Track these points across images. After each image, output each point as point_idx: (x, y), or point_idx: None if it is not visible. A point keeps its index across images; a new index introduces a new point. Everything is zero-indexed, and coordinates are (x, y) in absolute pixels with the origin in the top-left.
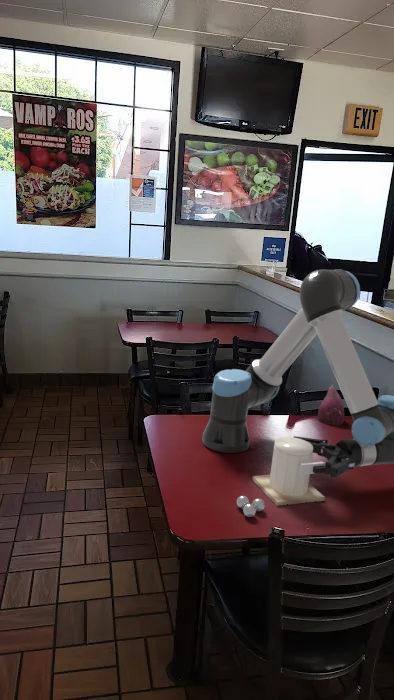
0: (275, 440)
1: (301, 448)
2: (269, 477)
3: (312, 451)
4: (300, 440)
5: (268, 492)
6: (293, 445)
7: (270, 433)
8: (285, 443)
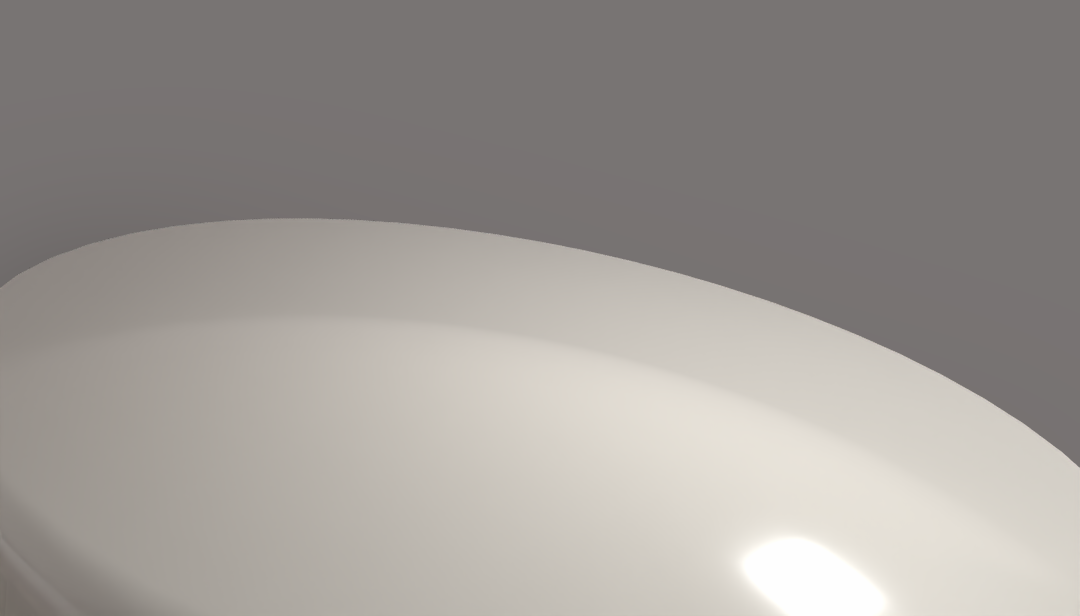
0: (782, 308)
1: (277, 349)
2: None
3: (14, 585)
4: (932, 600)
5: None
6: (507, 340)
7: None
8: (639, 321)
